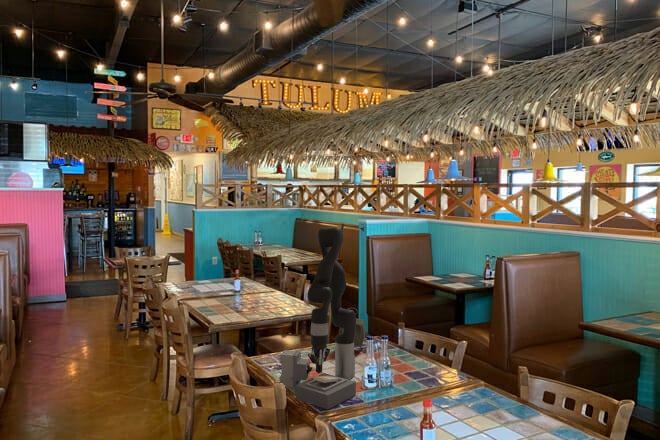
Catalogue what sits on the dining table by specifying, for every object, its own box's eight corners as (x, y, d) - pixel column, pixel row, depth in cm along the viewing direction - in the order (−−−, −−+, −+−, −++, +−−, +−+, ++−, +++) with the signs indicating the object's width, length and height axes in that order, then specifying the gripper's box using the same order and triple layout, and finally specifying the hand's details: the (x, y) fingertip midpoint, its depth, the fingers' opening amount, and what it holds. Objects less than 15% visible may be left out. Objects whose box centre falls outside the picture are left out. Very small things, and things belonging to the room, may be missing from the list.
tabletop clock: (365, 349, 294) (365, 306, 293) (363, 353, 285) (363, 310, 284) (340, 347, 297) (340, 305, 296) (338, 352, 288) (338, 308, 287)
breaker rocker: (327, 378, 227) (327, 375, 228) (338, 381, 224) (338, 378, 224) (313, 379, 220) (313, 376, 220) (324, 382, 216) (324, 379, 216)
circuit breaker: (309, 388, 232) (309, 356, 231) (279, 386, 234) (279, 354, 234) (313, 383, 239) (313, 351, 238) (284, 380, 242) (284, 349, 241)
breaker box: (324, 385, 235) (324, 371, 235) (355, 395, 224) (355, 379, 224) (295, 398, 220) (295, 383, 219) (328, 409, 209) (328, 393, 208)
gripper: (322, 328, 225) (321, 367, 225) (302, 334, 215) (302, 374, 215) (335, 331, 220) (335, 370, 221) (316, 337, 210) (315, 378, 210)
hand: (319, 372), depth 218 cm, fingers closed
